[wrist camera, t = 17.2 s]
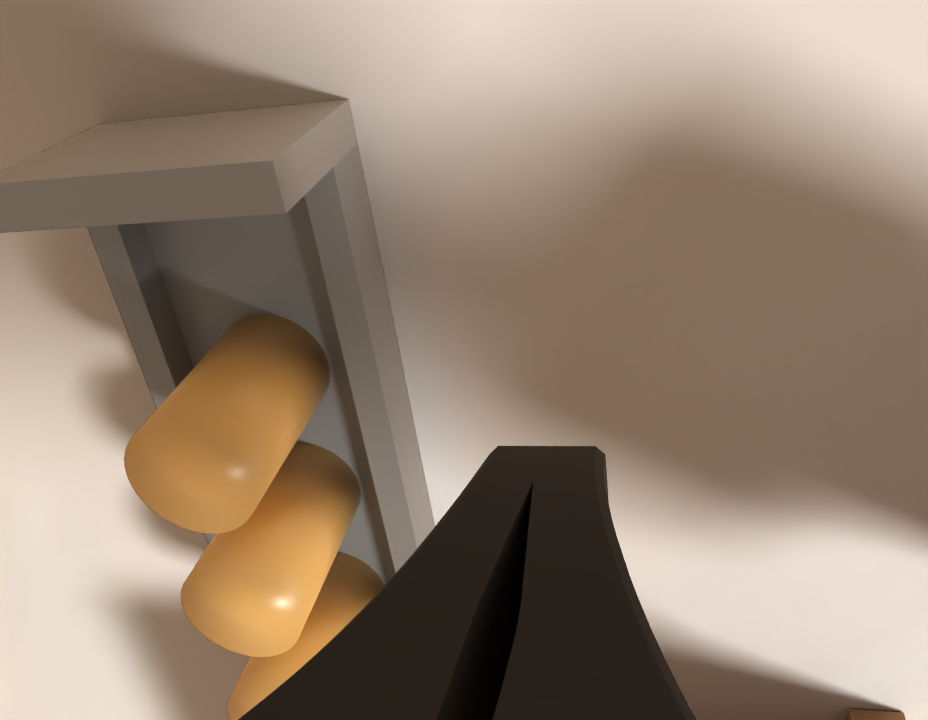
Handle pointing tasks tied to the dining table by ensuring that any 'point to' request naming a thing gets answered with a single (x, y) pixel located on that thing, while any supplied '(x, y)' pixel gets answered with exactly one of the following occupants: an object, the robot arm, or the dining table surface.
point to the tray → (305, 286)
